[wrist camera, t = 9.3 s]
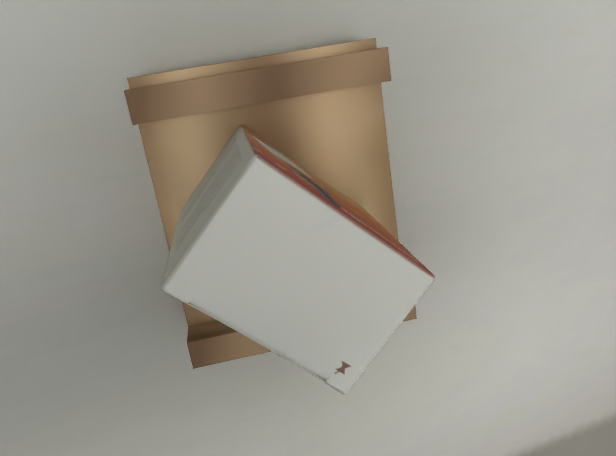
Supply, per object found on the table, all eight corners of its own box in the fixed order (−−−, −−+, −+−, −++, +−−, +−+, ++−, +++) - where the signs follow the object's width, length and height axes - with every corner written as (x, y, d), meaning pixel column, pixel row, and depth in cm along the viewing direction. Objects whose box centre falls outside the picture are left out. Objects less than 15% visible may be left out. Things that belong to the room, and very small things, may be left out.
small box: (365, 208, 29) (444, 280, 19) (303, 291, 30) (349, 401, 20) (239, 119, 27) (256, 149, 17) (176, 211, 28) (156, 292, 18)
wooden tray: (198, 327, 34) (195, 377, 28) (137, 77, 29) (121, 78, 24) (385, 286, 35) (417, 326, 30) (355, 41, 31) (386, 35, 25)
